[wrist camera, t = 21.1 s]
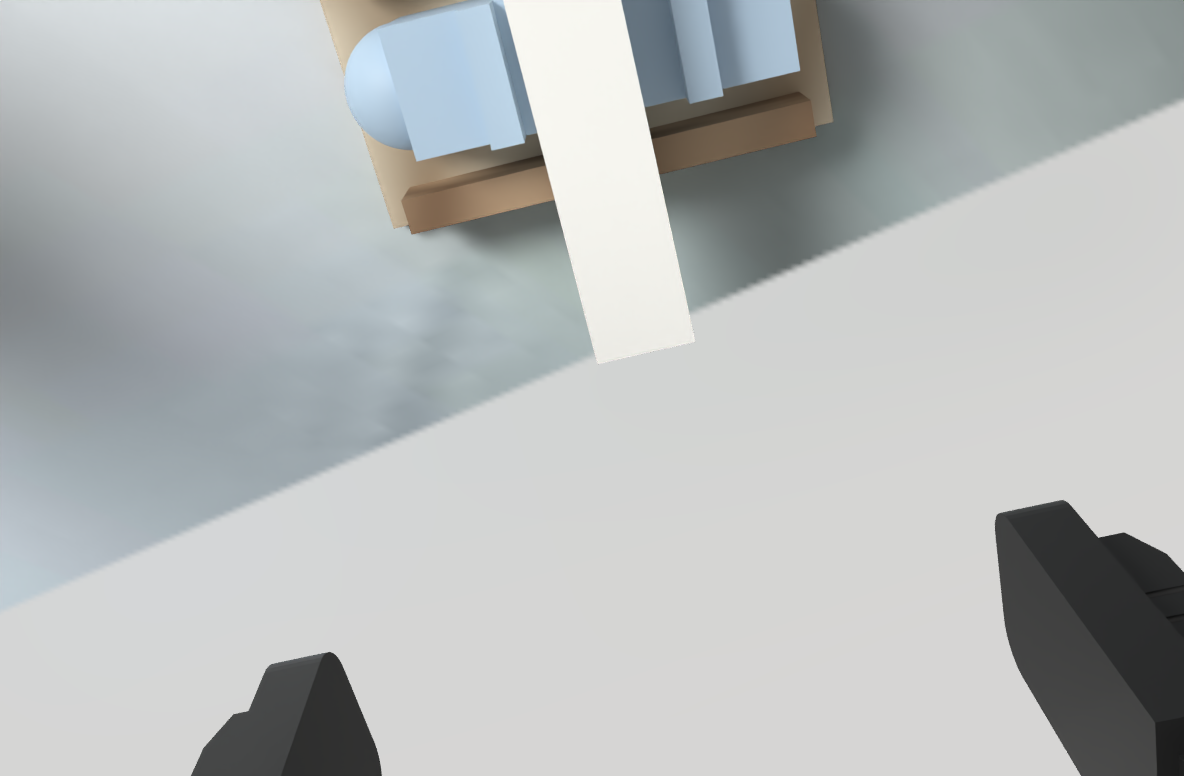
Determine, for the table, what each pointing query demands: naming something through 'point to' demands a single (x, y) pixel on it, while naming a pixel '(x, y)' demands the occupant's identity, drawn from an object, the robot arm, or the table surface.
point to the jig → (520, 171)
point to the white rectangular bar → (602, 172)
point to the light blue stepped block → (495, 82)
